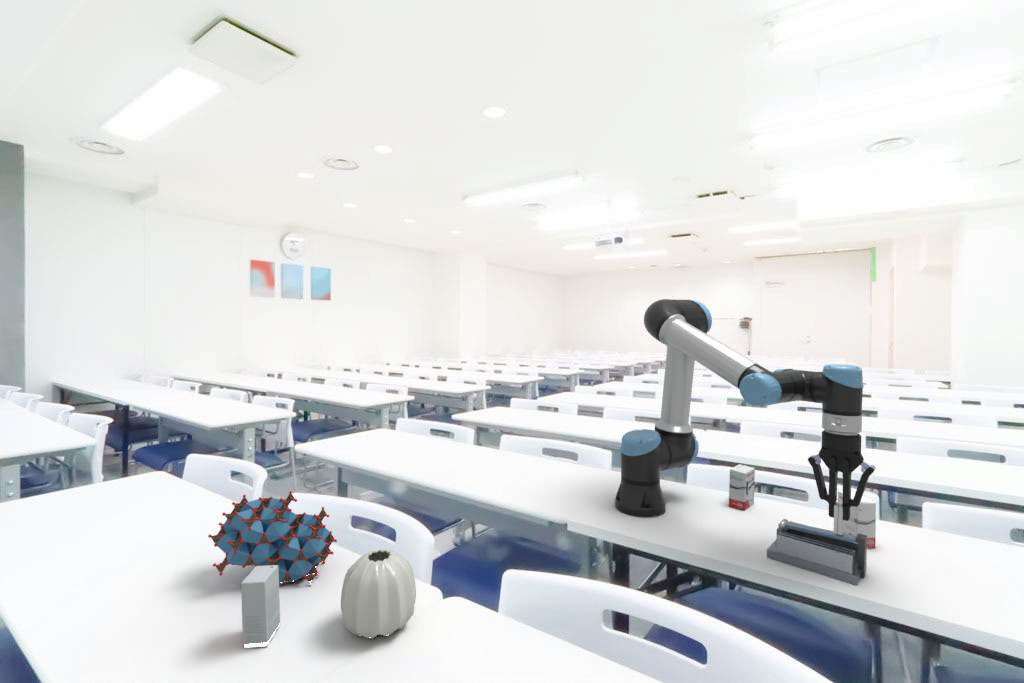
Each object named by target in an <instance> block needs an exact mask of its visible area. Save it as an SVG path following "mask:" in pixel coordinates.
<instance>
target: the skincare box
mask: <svg viewBox="0 0 1024 683" xmlns="http://www.w3.org/2000/svg"><path fill="white" fill-rule="evenodd" d="M240 589H241V590H240V591H241V592H240V593H241V594H240V595H241V617H242V618H241V620H242V621H241V622H242V645H243V644H249V643H261V642H262V643H263V642H267V641H268V640H269V639H270V637H271V635H272V634H273V632H274V631H275V629H276V628H277V627H278V625H279V623H280V624H281V607H280V606H281V605H280V604H281V603H280V582H279V569H278V565H268V566H256V567H255V566H254V568H253V569H252V570H251V571H250V573H248V574H247V576H246V577H245V578H244V579H243V581H241V583H240Z"/></svg>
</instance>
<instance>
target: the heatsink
mask: <svg viewBox="0 0 1024 683" xmlns="http://www.w3.org/2000/svg"><path fill="white" fill-rule="evenodd" d="M788 522H792V523H797V524H800V523H799V522H795V521H791V520H788ZM801 524H802V523H801ZM802 525H804V524H802ZM805 525H806V524H805ZM806 526H808V525H806ZM867 551H868V548H867V535H863V534H859V533H858V534H857V536H856V538H855V541H854V543H852V542H848V541H843V540H839V539H834V538H830V537H825V536H820V535H816V534H811V533H807V532H802V531H798V530H793V529H789V528H784V529H780V528H779V526H778V527H777V528H776V539H775V540H774V541H773V542H772V543H771V544H770V545H769V546H768V547H767V549H766V558H768V559H771V560H774V561H778V562H781V563H784V564H787V565H791V566H793V567H796V568H800V569H802V570H807V571H810V572H812V573H816V574H819V575H823V576H825V577H829V578H832V579H835V580H838V581H842V582H845V583H849V584H850V585H854V586H858V585H859V583H860V581H861V578H862V579H865V577H866V574H867V558H868V552H867Z"/></svg>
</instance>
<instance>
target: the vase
mask: <svg viewBox="0 0 1024 683" xmlns="http://www.w3.org/2000/svg"><path fill="white" fill-rule="evenodd" d="M415 579H416V578H415V574H414V570H413V567H412V565H411V562H410V561H409V560H407V559H406V558H405V557H404V556H403V555H401V554H400V553H398V552H396V551H394V550H391V549H388V548H387V549H386V548H385V549H381V548H378V549H376V550H372V551H368V552H366V554H364V555H362V556H360V557H359V558H358V559H357V560H356V561H355V562H354V563H353V564H352V565H351V566H350V567H349V568H348V569H347V571H346V573H345V575H344V578H343V583H342V588H341V596H340V610H341V613H342V614H341V616H342V618H341V619H342V626H344V627H345V629H347V630H348V631H350V632H351V633H352V634H354V635H355V636H356V635H357V636H356V637H360V636H359V635H362V636H361V637H364V638H366V639H368V638H369V637H371V638H373V639H374V637H375V638H376V637H377V635H378V636H382V635H383V636H382V637H385V636H386V635H388V634H390V635H392V634H393V633H394V632H395V631H397V630H396V629H400V630H401V629H403V627H404V626H406V624H407V623H408V622H409V620H410V619H411V618H412V616H414V612H415V604H416V599H417V585H416V580H415Z"/></svg>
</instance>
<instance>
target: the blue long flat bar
mask: <svg viewBox="0 0 1024 683" xmlns="http://www.w3.org/2000/svg"><path fill="white" fill-rule="evenodd" d="M792 522H793V521H791V522H789V520H788V519H786V518H783V519H782V520H781V521H780V522H779V523H778V525H777V526H778V527H779V528H780V529H784V528H789V529H793V530H798V531H802V532H807V533H811V534H816V535H820V536H825V537H830V538H834V539H839V540H843V541H848V542H852V543H854V541H855V536H854V535H849V534H844V533H843V534H842V535H839V534H835V533H834V530H829V529H824V528H819V527H815V526H810V525H807V526H806V524H803V525H802V523H799V524H797V523H798V522H795V523H792Z"/></svg>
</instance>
